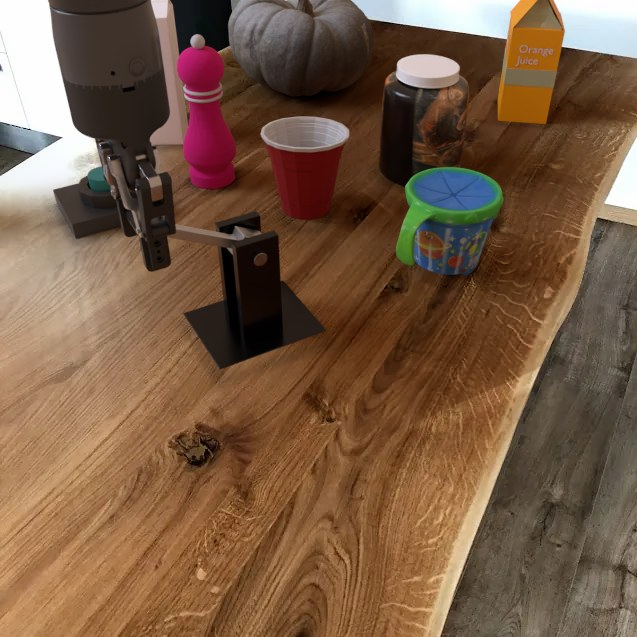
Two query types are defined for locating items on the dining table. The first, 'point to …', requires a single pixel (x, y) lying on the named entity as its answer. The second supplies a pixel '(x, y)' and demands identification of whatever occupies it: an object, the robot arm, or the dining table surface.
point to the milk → (170, 77)
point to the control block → (87, 209)
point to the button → (98, 180)
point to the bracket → (251, 300)
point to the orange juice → (530, 61)
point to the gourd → (301, 43)
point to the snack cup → (448, 219)
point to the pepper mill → (206, 117)
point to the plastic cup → (305, 162)
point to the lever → (204, 234)
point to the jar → (422, 117)
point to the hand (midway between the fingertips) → (146, 249)
